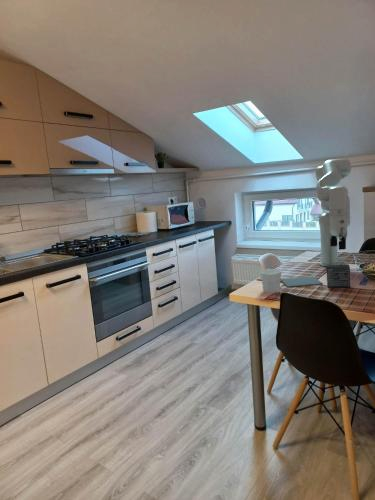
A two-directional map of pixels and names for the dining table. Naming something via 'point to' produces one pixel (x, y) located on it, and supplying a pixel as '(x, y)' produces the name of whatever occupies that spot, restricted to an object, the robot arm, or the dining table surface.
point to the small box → (338, 276)
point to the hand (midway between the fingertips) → (338, 247)
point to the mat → (301, 281)
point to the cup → (271, 280)
